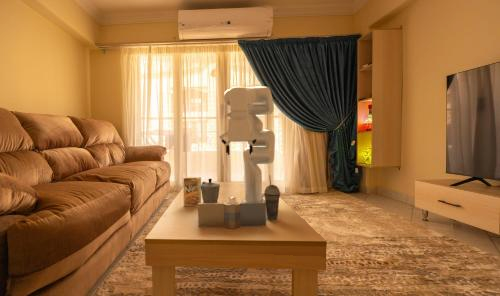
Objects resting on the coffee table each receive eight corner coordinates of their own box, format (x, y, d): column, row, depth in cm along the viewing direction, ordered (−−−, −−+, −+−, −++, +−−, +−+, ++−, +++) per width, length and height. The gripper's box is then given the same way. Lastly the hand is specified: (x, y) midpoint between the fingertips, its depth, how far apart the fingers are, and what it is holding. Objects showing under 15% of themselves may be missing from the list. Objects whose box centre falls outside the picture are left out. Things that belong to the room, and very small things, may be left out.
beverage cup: (276, 222, 117) (276, 176, 116) (261, 220, 120) (261, 175, 119) (282, 218, 123) (282, 174, 122) (268, 216, 127) (268, 173, 126)
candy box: (183, 206, 146) (183, 178, 146) (185, 204, 150) (185, 176, 150) (199, 206, 146) (199, 178, 145) (201, 204, 150) (201, 177, 149)
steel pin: (232, 224, 115) (232, 196, 114) (237, 225, 113) (237, 197, 112) (227, 226, 112) (227, 197, 112) (232, 227, 110) (232, 198, 110)
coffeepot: (226, 218, 123) (225, 179, 122) (207, 222, 118) (206, 181, 117) (211, 211, 136) (211, 175, 135) (193, 214, 131) (193, 177, 130)
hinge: (197, 229, 109) (196, 205, 108) (199, 224, 115) (199, 201, 115) (266, 228, 110) (266, 204, 109) (265, 223, 116) (265, 201, 116)
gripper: (218, 115, 114) (219, 155, 116) (258, 115, 115) (259, 155, 116) (219, 116, 122) (220, 154, 123) (257, 115, 122) (258, 153, 124)
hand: (239, 154), depth 120 cm, fingers open, 9 cm apart
